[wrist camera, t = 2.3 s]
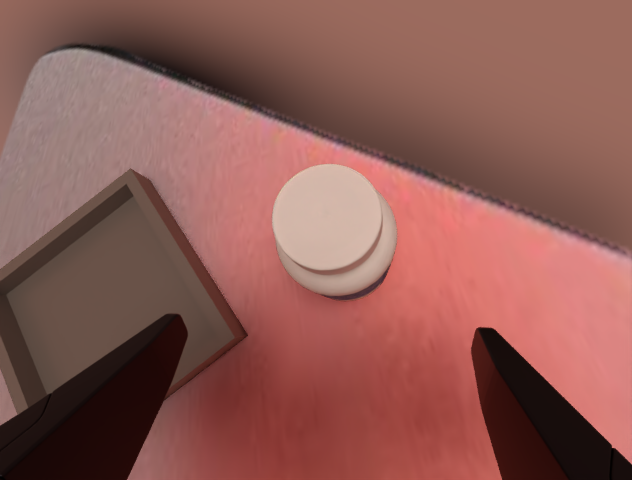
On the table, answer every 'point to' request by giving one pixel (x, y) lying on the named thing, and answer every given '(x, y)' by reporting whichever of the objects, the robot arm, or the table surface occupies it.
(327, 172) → the pill bottle
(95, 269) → the tray
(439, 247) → the table surface
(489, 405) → the robot arm
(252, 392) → the table surface
